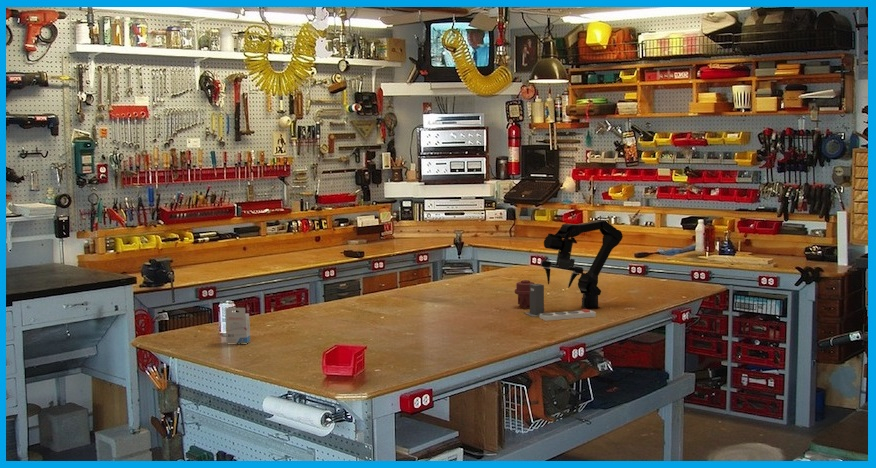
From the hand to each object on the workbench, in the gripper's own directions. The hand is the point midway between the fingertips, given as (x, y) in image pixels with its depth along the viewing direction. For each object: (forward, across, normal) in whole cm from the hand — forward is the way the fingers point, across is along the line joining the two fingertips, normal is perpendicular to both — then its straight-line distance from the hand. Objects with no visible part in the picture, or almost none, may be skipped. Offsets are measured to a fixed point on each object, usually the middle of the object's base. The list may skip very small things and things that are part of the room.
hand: (558, 286), depth 461 cm
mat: (+14, -8, -5) cm, 17 cm away
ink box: (+43, -126, -56) cm, 145 cm away
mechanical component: (+13, -12, +13) cm, 22 cm away
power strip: (+12, +5, -12) cm, 18 cm away
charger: (+14, -8, -5) cm, 16 cm away
